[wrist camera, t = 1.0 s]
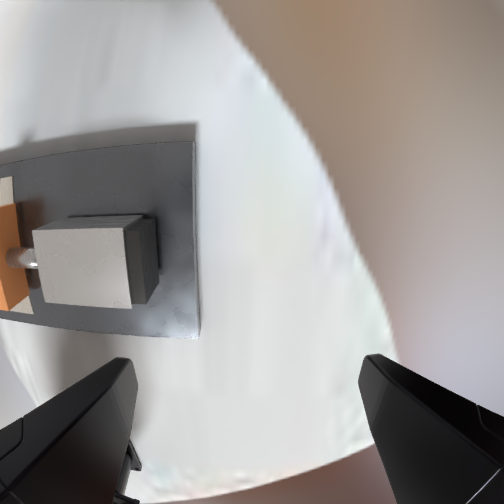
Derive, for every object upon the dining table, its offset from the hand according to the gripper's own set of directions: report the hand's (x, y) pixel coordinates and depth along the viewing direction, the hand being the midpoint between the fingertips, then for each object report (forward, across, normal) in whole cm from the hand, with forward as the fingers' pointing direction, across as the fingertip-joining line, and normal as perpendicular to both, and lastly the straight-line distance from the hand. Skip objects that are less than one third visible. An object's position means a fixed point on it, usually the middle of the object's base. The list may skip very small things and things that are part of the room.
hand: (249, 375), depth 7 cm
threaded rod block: (+11, +11, 0) cm, 16 cm away
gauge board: (+13, +18, 0) cm, 22 cm away
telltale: (+11, +17, 0) cm, 20 cm away
